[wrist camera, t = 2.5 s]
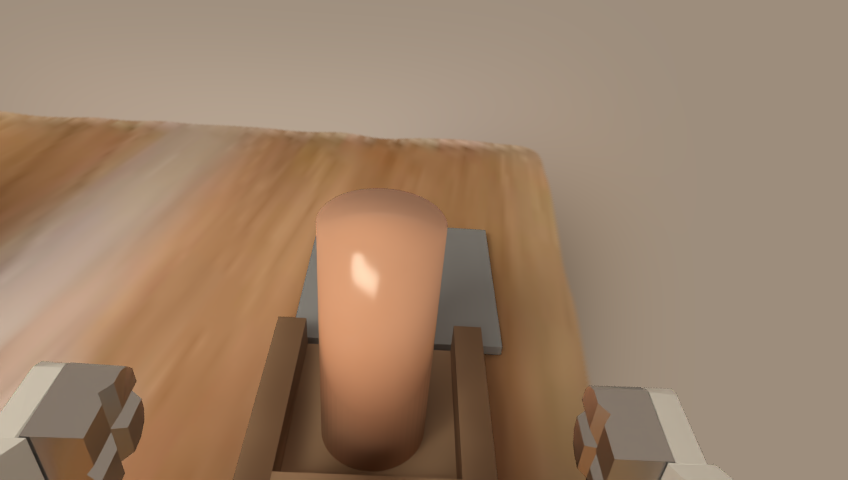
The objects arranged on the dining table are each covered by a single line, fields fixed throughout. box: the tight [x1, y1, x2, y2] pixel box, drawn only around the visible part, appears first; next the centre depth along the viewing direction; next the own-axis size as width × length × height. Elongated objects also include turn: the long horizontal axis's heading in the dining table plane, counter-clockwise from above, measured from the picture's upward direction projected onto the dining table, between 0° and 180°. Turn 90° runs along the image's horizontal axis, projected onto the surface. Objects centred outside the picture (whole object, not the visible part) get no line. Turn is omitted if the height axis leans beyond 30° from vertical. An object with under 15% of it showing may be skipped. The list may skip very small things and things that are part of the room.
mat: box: [296, 228, 502, 355], centre depth 41 cm, size 12×12×1 cm
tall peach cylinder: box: [316, 188, 448, 471], centre depth 29 cm, size 5×8×12 cm, turn 0°
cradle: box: [233, 317, 498, 480], centre depth 30 cm, size 11×11×2 cm
